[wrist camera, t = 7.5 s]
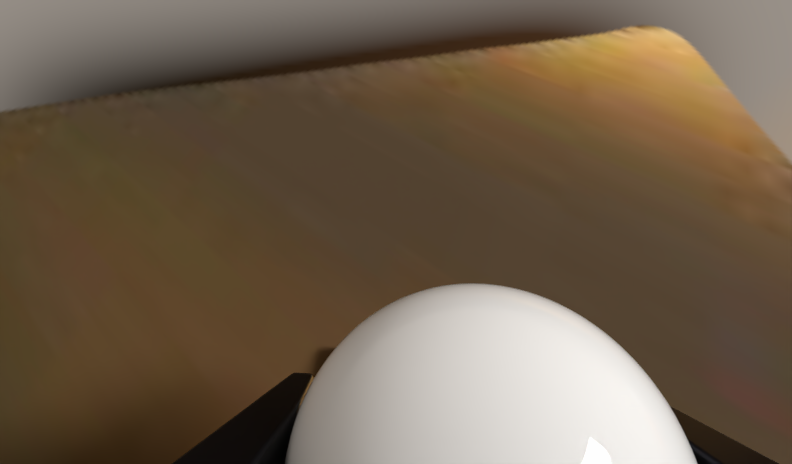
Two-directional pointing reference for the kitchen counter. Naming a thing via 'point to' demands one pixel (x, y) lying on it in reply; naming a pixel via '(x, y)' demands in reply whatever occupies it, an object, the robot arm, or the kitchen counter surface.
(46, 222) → the kitchen counter surface
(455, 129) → the kitchen counter surface
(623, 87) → the kitchen counter surface
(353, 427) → the lightbulb
